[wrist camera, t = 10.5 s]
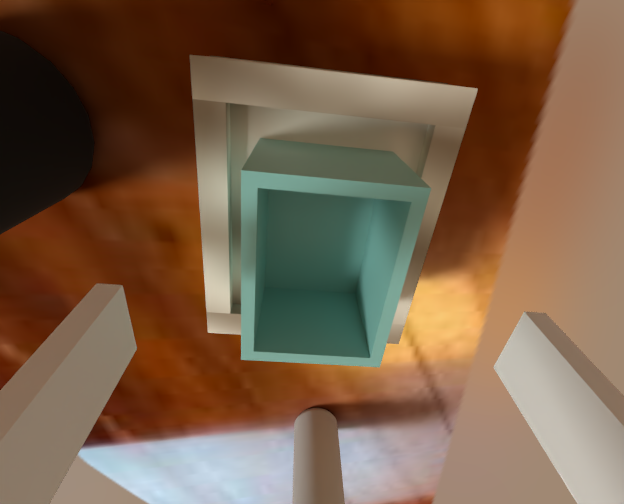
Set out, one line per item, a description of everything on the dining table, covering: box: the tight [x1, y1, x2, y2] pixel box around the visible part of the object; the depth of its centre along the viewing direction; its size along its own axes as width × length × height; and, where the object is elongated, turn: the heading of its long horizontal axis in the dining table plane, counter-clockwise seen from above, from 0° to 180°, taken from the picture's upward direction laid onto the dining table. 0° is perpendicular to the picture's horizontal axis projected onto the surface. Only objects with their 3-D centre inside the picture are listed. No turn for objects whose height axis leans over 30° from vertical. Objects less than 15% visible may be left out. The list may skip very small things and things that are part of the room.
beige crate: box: [190, 55, 478, 344], centre depth 22 cm, size 16×13×7 cm
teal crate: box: [241, 138, 431, 367], centre depth 17 cm, size 10×7×6 cm
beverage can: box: [293, 408, 345, 504], centre depth 33 cm, size 5×5×12 cm
